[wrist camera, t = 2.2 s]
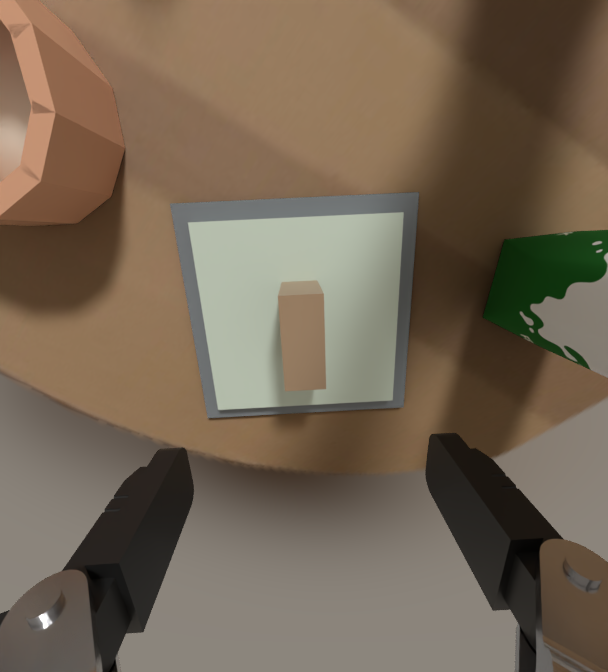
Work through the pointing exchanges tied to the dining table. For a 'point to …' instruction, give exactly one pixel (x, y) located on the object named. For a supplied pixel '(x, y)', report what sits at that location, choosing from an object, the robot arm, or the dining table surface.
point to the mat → (290, 209)
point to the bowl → (52, 121)
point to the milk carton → (555, 294)
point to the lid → (300, 307)
